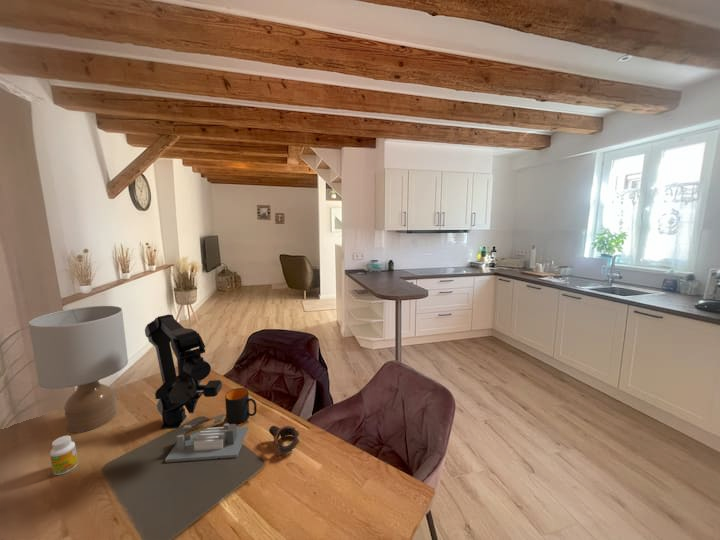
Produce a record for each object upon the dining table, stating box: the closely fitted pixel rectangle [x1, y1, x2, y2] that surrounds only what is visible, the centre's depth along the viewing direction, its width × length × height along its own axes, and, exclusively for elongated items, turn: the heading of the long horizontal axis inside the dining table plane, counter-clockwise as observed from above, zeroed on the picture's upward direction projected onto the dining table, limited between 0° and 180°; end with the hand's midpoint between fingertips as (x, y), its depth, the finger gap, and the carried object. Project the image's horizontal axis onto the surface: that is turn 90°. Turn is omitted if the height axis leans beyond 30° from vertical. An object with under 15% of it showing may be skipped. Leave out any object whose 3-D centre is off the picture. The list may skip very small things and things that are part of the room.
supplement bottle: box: [49, 435, 79, 476], centre depth 88 cm, size 5×5×10 cm
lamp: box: [28, 305, 129, 433], centre depth 107 cm, size 24×24×42 cm
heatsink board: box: [164, 423, 249, 463], centre depth 98 cm, size 22×13×6 cm, turn 96°
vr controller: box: [268, 425, 300, 457], centre depth 99 cm, size 12×9×8 cm
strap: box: [180, 413, 226, 437], centre depth 98 cm, size 15×3×2 cm, turn 96°
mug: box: [224, 387, 258, 426], centre depth 112 cm, size 8×12×10 cm
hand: (191, 412), depth 96 cm, fingers closed
